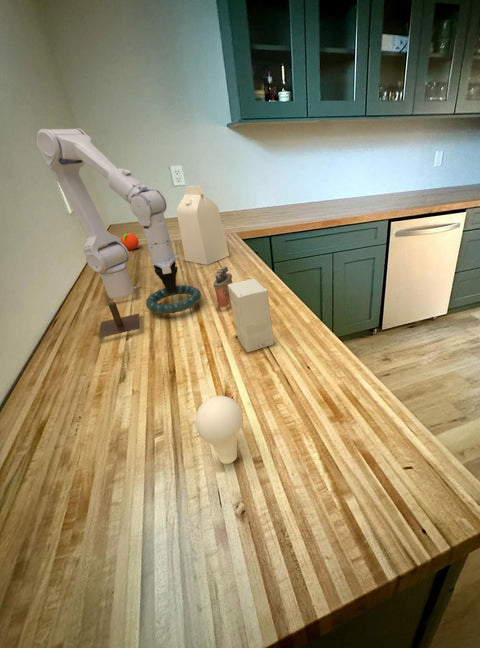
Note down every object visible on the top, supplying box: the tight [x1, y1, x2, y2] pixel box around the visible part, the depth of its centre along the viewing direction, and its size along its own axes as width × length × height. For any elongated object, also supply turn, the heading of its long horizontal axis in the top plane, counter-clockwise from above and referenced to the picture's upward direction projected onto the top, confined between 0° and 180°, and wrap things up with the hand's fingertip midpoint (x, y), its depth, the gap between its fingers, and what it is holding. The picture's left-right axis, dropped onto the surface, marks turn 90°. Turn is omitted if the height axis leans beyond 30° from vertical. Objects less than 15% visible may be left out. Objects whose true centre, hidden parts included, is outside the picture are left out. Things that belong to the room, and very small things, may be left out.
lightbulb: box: [194, 395, 244, 465], centre depth 45 cm, size 6×6×11 cm
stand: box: [98, 301, 140, 339], centre depth 82 cm, size 9×9×7 cm
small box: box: [228, 278, 275, 353], centre depth 72 cm, size 8×6×13 cm
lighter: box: [212, 265, 233, 308], centre depth 90 cm, size 8×3×10 cm, turn 168°
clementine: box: [120, 232, 140, 251], centre depth 145 cm, size 8×7×7 cm
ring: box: [145, 284, 203, 315], centre depth 88 cm, size 14×14×2 cm
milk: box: [176, 185, 230, 266], centre depth 123 cm, size 12×12×26 cm
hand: (171, 290), depth 93 cm, fingers closed on ring, 2 cm apart
